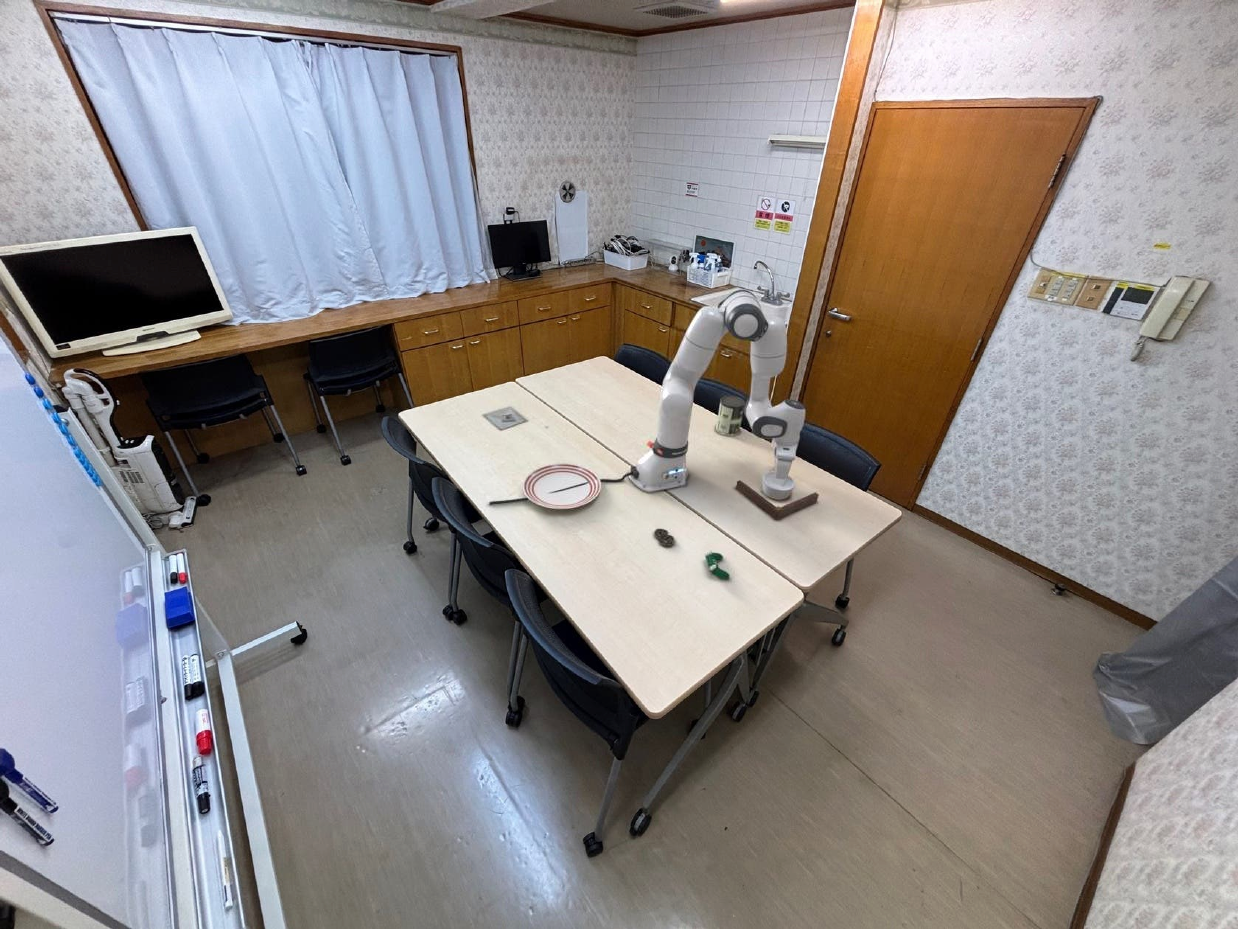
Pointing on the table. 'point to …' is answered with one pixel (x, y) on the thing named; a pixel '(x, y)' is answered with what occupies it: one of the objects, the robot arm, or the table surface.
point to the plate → (561, 486)
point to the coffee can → (730, 415)
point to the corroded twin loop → (664, 537)
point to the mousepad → (505, 418)
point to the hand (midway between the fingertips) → (776, 474)
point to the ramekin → (777, 486)
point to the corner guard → (769, 507)
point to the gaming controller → (715, 564)
